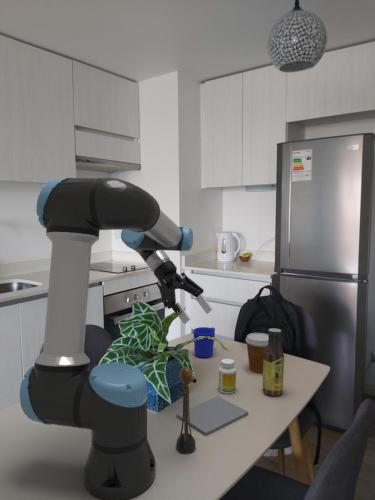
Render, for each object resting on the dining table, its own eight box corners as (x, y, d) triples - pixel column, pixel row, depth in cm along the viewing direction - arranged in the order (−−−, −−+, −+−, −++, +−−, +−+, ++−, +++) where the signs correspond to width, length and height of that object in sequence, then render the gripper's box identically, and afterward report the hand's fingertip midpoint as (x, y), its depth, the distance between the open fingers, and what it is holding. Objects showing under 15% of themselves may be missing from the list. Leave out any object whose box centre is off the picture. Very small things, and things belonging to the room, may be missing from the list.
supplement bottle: (215, 389, 125) (215, 360, 124) (227, 384, 128) (227, 356, 127) (227, 396, 120) (227, 365, 119) (239, 390, 124) (239, 361, 123)
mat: (205, 435, 99) (205, 432, 99) (176, 416, 109) (176, 413, 109) (248, 414, 110) (248, 411, 110) (217, 398, 119) (217, 396, 119)
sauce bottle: (277, 399, 119) (279, 334, 116) (258, 393, 122) (260, 330, 120) (286, 391, 124) (288, 329, 122) (268, 385, 127) (269, 325, 125)
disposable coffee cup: (239, 366, 142) (240, 334, 141) (261, 362, 146) (262, 331, 145) (255, 377, 134) (255, 342, 132) (277, 372, 138) (278, 338, 136)
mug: (222, 351, 158) (222, 326, 157) (207, 361, 148) (208, 335, 147) (204, 347, 162) (204, 323, 161) (189, 356, 152) (189, 331, 151)
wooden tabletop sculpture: (202, 451, 93) (202, 370, 91) (186, 458, 91) (186, 375, 88) (188, 439, 98) (188, 361, 96) (172, 445, 95) (172, 366, 93)
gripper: (177, 268, 147) (211, 313, 140) (131, 279, 126) (169, 333, 120) (188, 255, 143) (225, 301, 136) (143, 264, 122) (183, 319, 116)
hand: (199, 316), depth 128 cm, fingers open, 13 cm apart
